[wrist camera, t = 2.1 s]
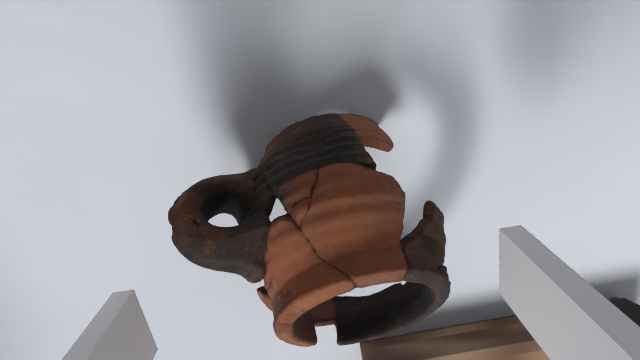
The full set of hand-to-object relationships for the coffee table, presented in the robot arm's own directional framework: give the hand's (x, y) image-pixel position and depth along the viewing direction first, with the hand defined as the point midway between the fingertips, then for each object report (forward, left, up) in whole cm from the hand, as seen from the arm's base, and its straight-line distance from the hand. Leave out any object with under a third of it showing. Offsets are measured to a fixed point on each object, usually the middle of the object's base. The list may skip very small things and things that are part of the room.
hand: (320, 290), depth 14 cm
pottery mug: (0, +1, -7) cm, 7 cm away
